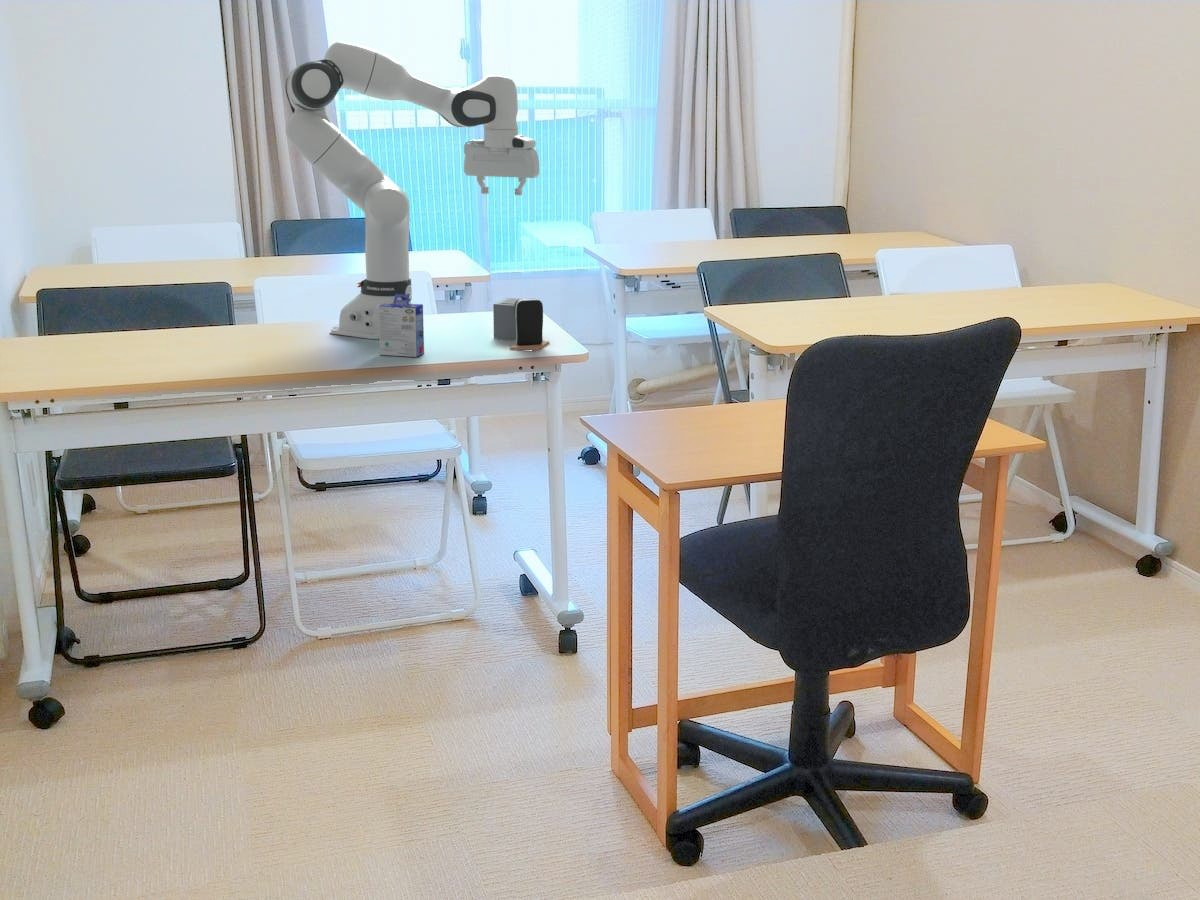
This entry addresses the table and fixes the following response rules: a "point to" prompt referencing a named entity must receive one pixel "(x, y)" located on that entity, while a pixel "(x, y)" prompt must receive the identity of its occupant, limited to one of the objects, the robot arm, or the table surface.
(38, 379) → the table surface
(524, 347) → the mat
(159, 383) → the table surface
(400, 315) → the ink cartridge box
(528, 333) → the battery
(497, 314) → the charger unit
